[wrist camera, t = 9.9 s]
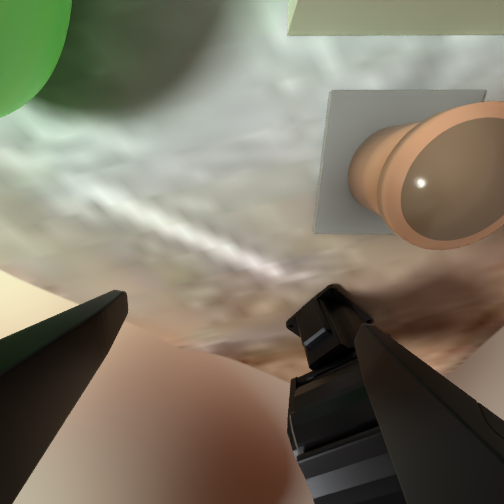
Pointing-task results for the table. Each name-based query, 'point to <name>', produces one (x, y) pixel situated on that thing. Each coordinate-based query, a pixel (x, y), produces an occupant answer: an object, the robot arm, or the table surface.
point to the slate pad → (354, 134)
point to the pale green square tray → (396, 17)
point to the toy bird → (29, 47)
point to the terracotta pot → (436, 176)
